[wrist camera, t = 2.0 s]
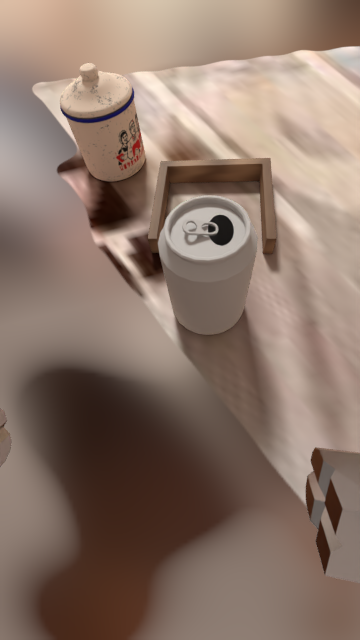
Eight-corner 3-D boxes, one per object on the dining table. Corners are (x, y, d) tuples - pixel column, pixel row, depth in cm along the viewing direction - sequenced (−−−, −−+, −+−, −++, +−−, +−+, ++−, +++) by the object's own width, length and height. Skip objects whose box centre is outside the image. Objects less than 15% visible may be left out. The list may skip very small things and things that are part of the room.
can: (247, 337, 29) (268, 264, 18) (172, 339, 30) (151, 270, 19) (240, 274, 32) (255, 182, 22) (173, 278, 33) (155, 190, 22)
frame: (151, 252, 35) (147, 238, 33) (163, 178, 41) (160, 161, 38) (272, 253, 33) (276, 238, 31) (266, 175, 39) (270, 157, 37)
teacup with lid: (134, 188, 40) (107, 92, 30) (76, 179, 42) (32, 86, 32) (162, 134, 45) (147, 35, 35) (109, 128, 47) (80, 33, 36)
